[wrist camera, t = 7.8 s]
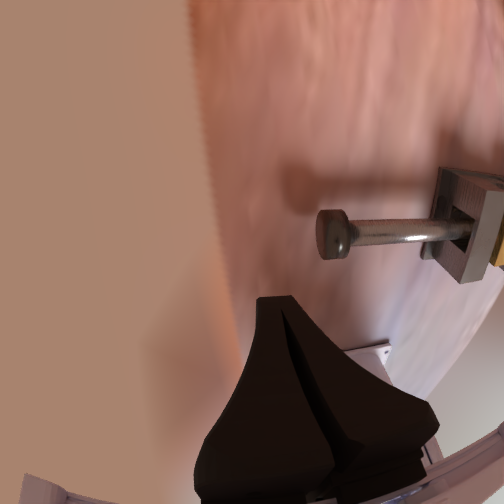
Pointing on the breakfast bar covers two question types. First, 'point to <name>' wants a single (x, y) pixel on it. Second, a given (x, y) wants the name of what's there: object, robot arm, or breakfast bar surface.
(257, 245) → the breakfast bar surface
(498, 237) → the block
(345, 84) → the breakfast bar surface
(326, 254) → the shaft
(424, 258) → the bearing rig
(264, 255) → the breakfast bar surface
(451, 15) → the breakfast bar surface
